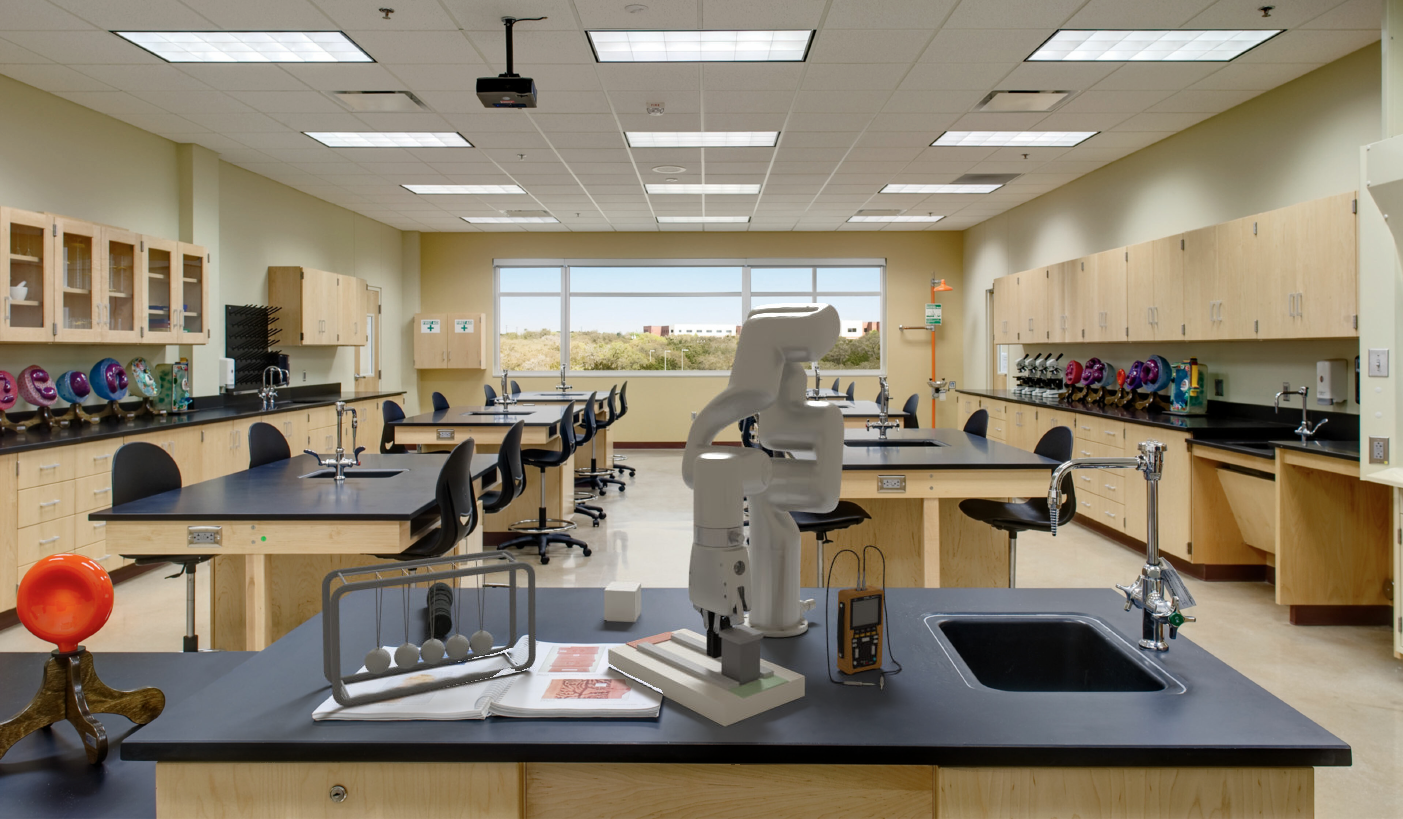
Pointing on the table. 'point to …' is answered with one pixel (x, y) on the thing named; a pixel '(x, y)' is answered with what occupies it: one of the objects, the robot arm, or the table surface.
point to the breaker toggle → (741, 653)
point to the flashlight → (440, 609)
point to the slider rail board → (704, 677)
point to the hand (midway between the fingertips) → (717, 654)
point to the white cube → (622, 601)
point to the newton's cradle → (433, 648)
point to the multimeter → (860, 626)
